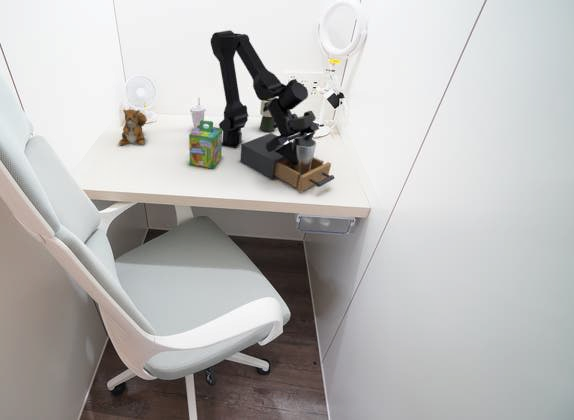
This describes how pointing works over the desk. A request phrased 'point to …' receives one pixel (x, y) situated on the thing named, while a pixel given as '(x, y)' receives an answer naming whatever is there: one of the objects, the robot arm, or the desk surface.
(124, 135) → the stuffed squirrel
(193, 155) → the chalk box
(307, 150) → the steel cup
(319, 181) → the drawer
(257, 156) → the organizer
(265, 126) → the character mug
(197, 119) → the smoothie
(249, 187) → the desk surface
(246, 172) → the desk surface
